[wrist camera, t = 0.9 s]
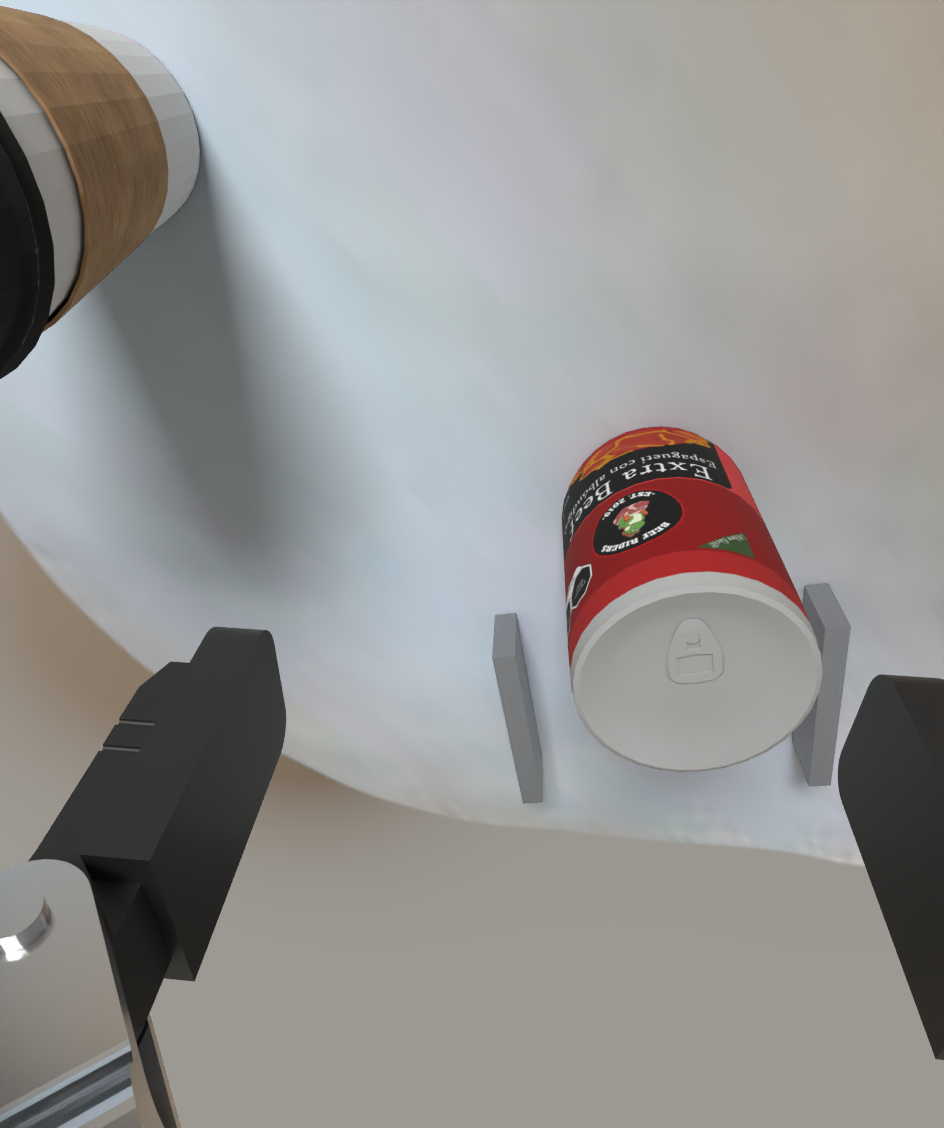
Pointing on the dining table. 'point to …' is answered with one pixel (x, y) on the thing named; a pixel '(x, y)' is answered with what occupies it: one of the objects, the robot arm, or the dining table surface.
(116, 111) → the coffee cup
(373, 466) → the dining table surface
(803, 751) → the lane rails
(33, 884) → the robot arm
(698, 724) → the canned food
